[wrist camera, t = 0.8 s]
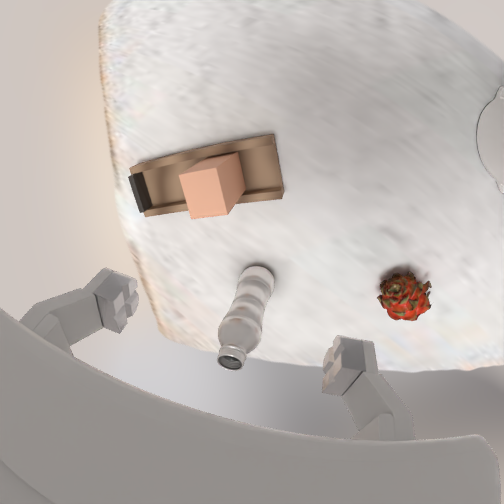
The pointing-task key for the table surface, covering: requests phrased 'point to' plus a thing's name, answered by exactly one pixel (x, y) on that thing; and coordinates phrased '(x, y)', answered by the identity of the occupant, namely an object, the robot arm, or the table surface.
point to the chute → (169, 167)
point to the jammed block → (213, 185)
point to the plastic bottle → (244, 317)
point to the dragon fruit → (404, 297)
